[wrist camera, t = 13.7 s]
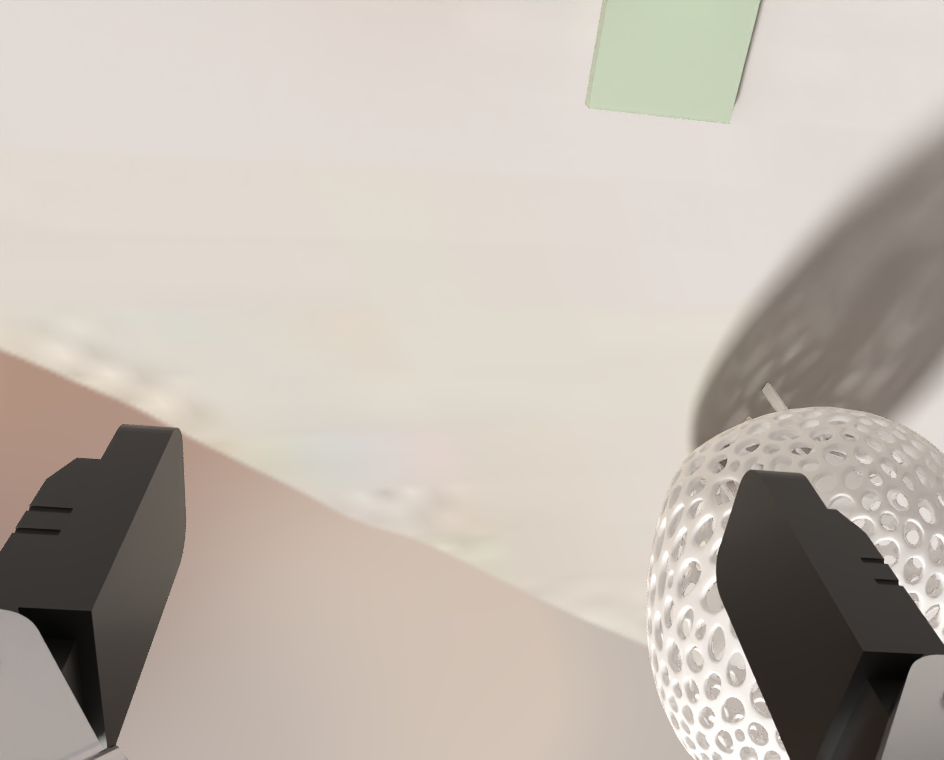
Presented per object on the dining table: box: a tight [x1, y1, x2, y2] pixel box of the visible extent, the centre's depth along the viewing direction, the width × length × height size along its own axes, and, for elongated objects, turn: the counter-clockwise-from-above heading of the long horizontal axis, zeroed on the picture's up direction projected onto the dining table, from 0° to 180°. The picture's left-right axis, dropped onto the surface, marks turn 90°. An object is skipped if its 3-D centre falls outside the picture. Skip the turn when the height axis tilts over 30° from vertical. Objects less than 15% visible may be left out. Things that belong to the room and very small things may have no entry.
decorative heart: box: [646, 382, 944, 760], centre depth 42 cm, size 18×11×17 cm, turn 156°
